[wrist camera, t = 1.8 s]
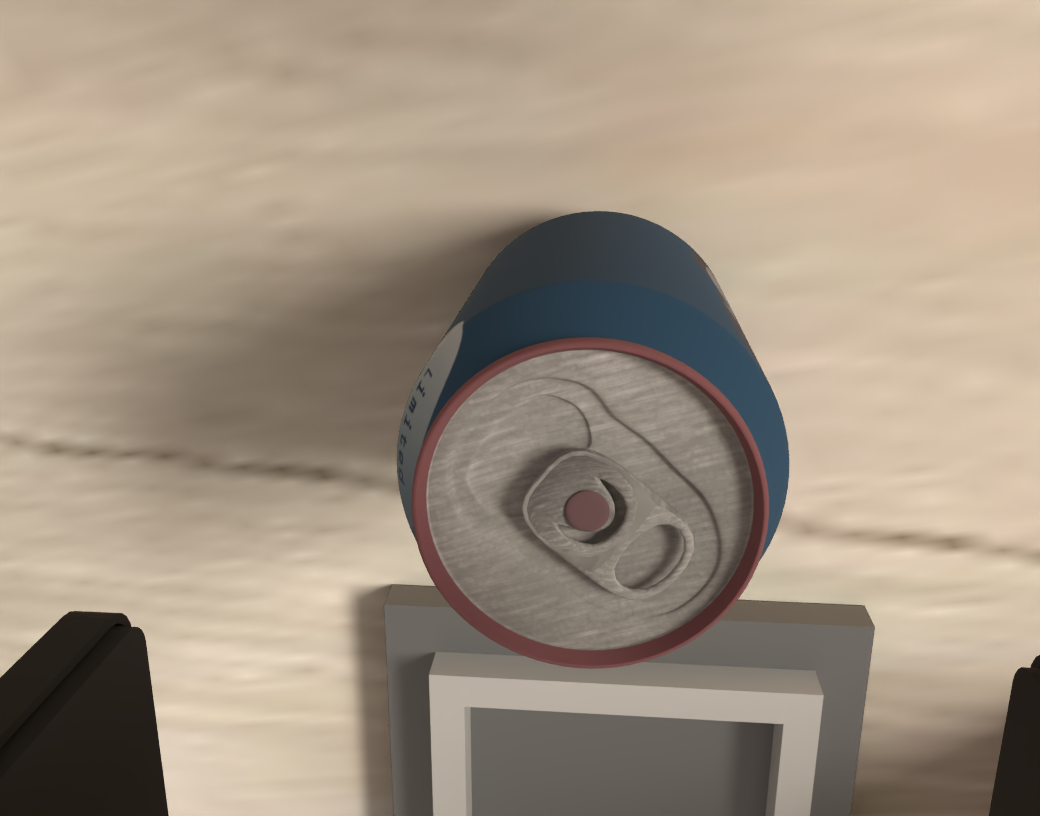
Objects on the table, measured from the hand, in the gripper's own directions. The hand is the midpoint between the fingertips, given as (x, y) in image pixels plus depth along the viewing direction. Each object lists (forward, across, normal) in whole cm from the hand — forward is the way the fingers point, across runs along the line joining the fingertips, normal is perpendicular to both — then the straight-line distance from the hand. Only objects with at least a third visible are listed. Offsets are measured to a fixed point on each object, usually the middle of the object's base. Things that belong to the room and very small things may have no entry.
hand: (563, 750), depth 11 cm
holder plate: (+18, -1, +15) cm, 23 cm away
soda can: (+18, 0, 0) cm, 18 cm away
